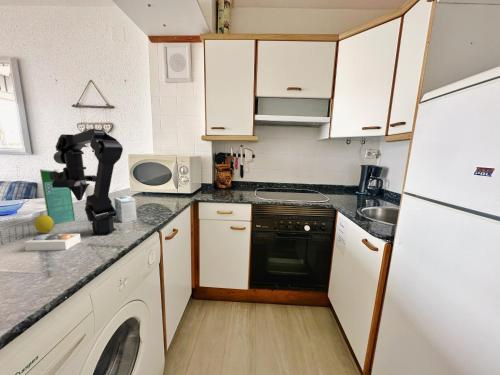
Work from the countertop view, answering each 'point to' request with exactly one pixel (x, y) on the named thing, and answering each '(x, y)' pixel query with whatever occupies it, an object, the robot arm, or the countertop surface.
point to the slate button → (41, 237)
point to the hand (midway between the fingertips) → (79, 200)
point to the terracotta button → (65, 236)
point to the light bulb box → (125, 208)
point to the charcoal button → (53, 236)
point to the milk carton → (57, 199)
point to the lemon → (44, 224)
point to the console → (52, 243)
